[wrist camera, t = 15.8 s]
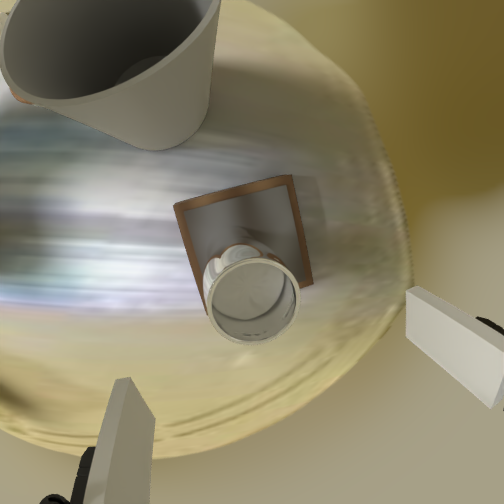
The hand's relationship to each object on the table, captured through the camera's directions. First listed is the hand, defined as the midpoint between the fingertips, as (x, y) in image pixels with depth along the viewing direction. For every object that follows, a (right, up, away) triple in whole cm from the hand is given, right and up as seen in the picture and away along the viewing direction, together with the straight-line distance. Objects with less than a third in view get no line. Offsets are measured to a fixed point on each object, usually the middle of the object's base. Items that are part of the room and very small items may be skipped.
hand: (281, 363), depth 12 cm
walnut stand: (-2, +6, +26) cm, 27 cm away
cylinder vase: (-13, +23, +21) cm, 34 cm away
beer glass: (-4, +5, +23) cm, 23 cm away
